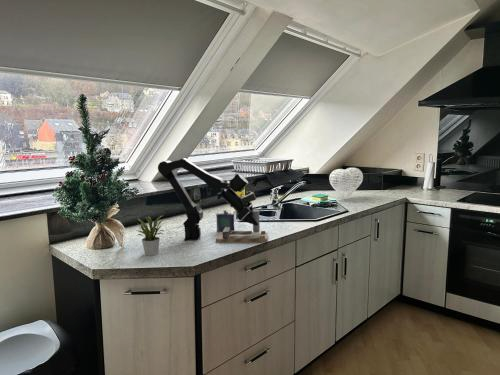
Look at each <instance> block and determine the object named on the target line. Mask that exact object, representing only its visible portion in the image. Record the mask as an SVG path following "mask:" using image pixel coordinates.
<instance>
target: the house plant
mask: <svg viewBox="0 0 500 375" xmlns="http://www.w3.org/2000/svg"><path fill="white" fill-rule="evenodd" d="M161 217H164V214H163V215H160V216H158V217H157V218H156V219H155V220H154V222H153V220H152V217H150V216H149V215H148V216H147V218H146V220H147V222H148V225H147V224H146V223H145V222H144V221H143V220H141V219H140V218H137V220H138V221H139V222H140V223H141V224H139V223H138V225H139V226H140V229H141V230H136V232H139V233H137V236H142V237H143V238H142V239H141V242H142V246H143V251H144V254H145V256H155V255H157V254H158V253H159V248H160V247H159V246H160V237H159V236H156V235H164V234H163V232H165V230H164V229H161V227H162V225H160V224H161V223H162V222H164V221H165V220H166V218H164V219H161V220H160V218H161ZM148 226H149V228H148Z"/></svg>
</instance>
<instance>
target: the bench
mask: <svg viewBox="0 0 500 375" xmlns="http://www.w3.org/2000/svg"><path fill="white" fill-rule="evenodd" d="M268 236H269V235H268V232H266V230H261V235H252V230H234V231H231V232H230V227H225V228H224V230H223V232H218V234H217V236H216V238H215V243H268Z"/></svg>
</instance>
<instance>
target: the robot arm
mask: <svg viewBox="0 0 500 375" xmlns="http://www.w3.org/2000/svg"><path fill="white" fill-rule="evenodd" d="M181 168H182V169H184V170H185V171H187V172H188V173H190V174H192V175H193V176H195V177H196V178H199V179H200V180H201V181H203V182H204V183H205V184H206V186H208V187H209V188H210V189H211V190H212V191H213V192H215V193H216V192H218V193H217V194H216V195H217V200H218V201H219V200H220V199H221V198H222V199H223V200H224V201H226V203H228V204H229V207H231V208H233V209H234V210H235V211H236V219H238V220H239V221H240V222H244V223H247V224H250V225H252V226H253V225H256V226H257V225H258V223H257V221H256V220H255V219H254V218H253V211H254V209H253V208H254V207H253V206H254V205H253V203H252V202H254V201H255V200H257V196H256V195H255V192H254V191H250V190H249V191H246V195H244V196H242V195H238V192H239V193H241V191H243V189H244V188H246V187H247V186H248V185H249V181H248V180H247V178H245V177H244V176H242V175H241V174H240V173H236V174H235V175H234V176H233V177H232V178H231V180H226V179H224V178H222V177H220V176H218V175H215V174H212V173H209V172H208V171H206V170H205V169H202V167H199V166H198V165H196V164H195V163H194V162H191V161H190V160H188V158H180V159H177V160H174V161H171V160H164V161H163V160H162V161H161V162H159V163H158V165H157V171H158V172H159V173H160V174H161V176H162V177H163V178H164V179H166V180H167V181H168V183H169V184H170V186H171V187H172V189H173V191H174V192H175V193H176V196H177V197H178V198H179V200H180V202H181V204H182V205H183V208H184V210H185V215H186V218H187V219H186V220H185V221H184V222H182V223H183V224H182V225H183V226H184V227H183V228H184V236H185V237H184V238H183V239H184V241H198V240H199V239H200V238H201V237H202V235H201V234H202V231H201V227H200V222H201V221H202V219H203V218H204V210H203V209H202V208H201V205H200V203H198V204H197V203H195V202H193V200H192V198H191V197H190V195H189V193H188V192H187V190H186V189H185V187H184V185H183V184H182V181H181V180H180V178H179V177H178V173H177V170H178V169H181ZM226 188H227V189H226ZM221 190H222V191H221Z"/></svg>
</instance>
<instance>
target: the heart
mask: <svg viewBox="0 0 500 375" xmlns="http://www.w3.org/2000/svg"><path fill="white" fill-rule="evenodd" d="M363 174H364V173H363V172H362V171H361V169H360V168H357V167H347V168H346V169H343V168H338V169H337V168H336V169H334V170H332V172H331V173H330V174H329V184H330V185H331V187H332V188H333V189H334V190H335V192H337V193H338V195H339V196H340V197H341V198H342V199H343V200H348V199H350V197H351V196H352V195H353V194H354V192H356V190H357V189H358V188H359V187H360V185H362V182H363V180H364V175H363Z"/></svg>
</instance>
